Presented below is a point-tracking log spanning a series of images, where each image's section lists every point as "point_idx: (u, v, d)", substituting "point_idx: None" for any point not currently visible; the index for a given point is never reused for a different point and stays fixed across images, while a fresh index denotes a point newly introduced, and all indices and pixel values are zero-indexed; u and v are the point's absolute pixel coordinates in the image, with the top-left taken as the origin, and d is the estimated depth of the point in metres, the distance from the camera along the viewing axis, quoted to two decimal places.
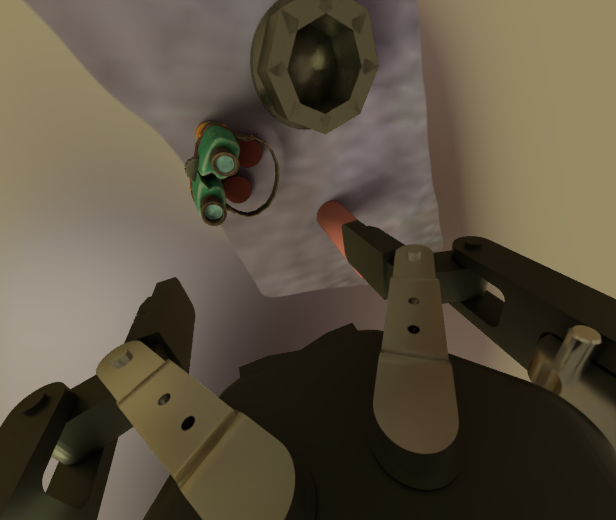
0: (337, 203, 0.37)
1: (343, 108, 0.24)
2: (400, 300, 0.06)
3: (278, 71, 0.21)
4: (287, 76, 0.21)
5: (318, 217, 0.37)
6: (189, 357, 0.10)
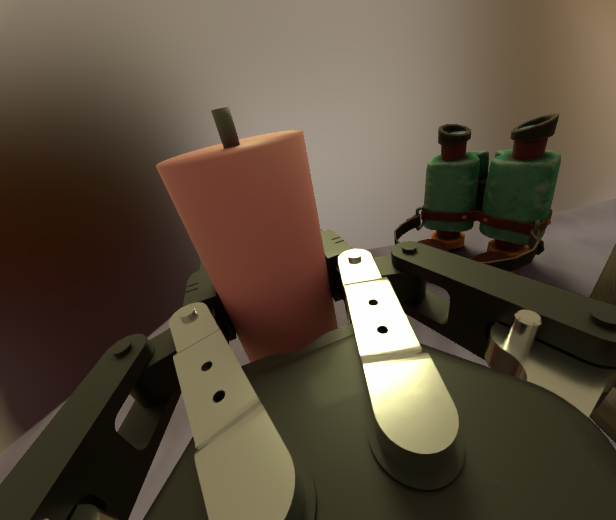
0: None
1: None
2: (360, 304, 0.06)
3: None
4: None
5: None
6: None
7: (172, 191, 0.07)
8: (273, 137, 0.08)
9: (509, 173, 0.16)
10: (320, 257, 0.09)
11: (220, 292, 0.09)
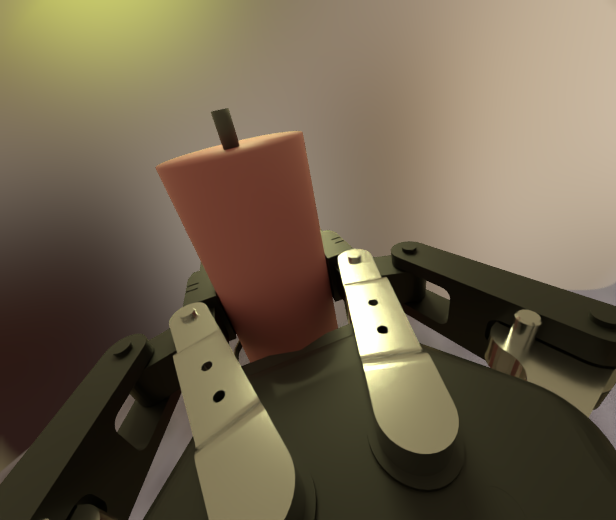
0: None
1: None
2: (360, 304, 0.06)
3: None
4: None
5: None
6: None
7: (172, 193, 0.07)
8: (273, 138, 0.08)
9: None
10: (320, 258, 0.09)
11: (220, 293, 0.09)
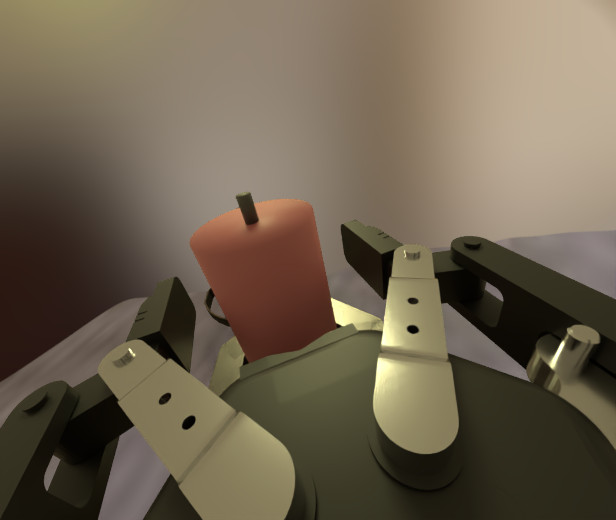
0: None
1: (231, 382, 0.13)
2: (399, 300, 0.06)
3: None
4: None
5: None
6: (190, 356, 0.10)
7: (204, 268, 0.08)
8: (287, 214, 0.09)
9: None
10: (328, 309, 0.10)
11: (241, 342, 0.10)
